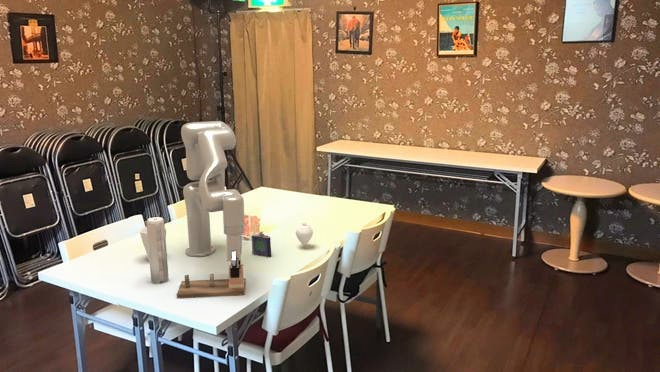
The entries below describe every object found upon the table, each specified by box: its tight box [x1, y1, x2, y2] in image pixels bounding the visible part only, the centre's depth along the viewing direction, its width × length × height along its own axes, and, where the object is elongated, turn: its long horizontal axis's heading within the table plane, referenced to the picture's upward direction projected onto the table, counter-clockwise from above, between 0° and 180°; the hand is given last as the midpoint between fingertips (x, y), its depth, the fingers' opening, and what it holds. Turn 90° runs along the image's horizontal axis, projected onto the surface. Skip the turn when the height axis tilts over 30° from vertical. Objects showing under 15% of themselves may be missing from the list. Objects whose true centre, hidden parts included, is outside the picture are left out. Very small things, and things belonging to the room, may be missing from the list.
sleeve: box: [228, 264, 245, 288], centre depth 205 cm, size 5×5×7 cm
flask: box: [251, 231, 272, 258], centre depth 239 cm, size 9×3×11 cm, turn 65°
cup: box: [139, 226, 167, 262], centre depth 233 cm, size 10×10×14 cm
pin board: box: [176, 273, 247, 299], centre depth 204 cm, size 12×24×6 cm, turn 96°
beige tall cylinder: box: [146, 216, 170, 285], centre depth 211 cm, size 6×6×25 cm
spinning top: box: [295, 221, 314, 249], centre depth 247 cm, size 8×8×12 cm
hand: (235, 272), depth 205 cm, fingers open, 9 cm apart
